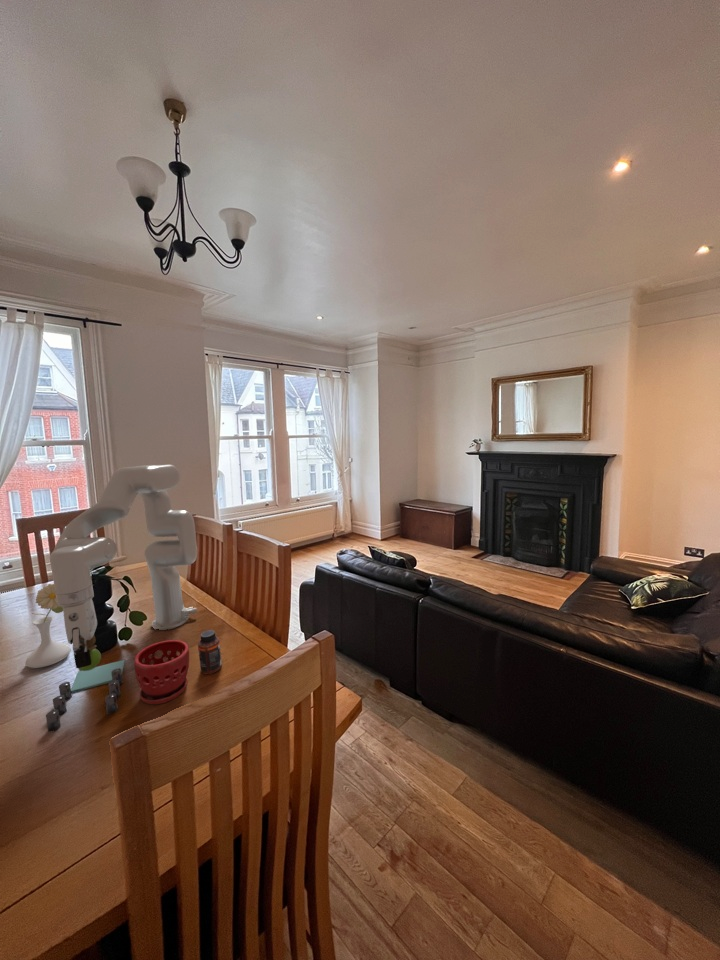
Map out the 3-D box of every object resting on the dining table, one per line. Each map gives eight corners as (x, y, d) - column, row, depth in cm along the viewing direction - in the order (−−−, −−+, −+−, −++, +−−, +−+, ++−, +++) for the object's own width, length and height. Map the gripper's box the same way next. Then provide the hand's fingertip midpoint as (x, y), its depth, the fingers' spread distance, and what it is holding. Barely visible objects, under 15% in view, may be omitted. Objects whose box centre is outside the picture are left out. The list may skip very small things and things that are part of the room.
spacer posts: (123, 680, 111) (121, 667, 111) (117, 712, 98) (115, 697, 98) (62, 697, 105) (60, 683, 104) (47, 733, 92) (44, 718, 92)
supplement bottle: (226, 664, 117) (223, 629, 115) (212, 676, 111) (209, 640, 110) (210, 661, 119) (206, 626, 117) (196, 673, 113) (192, 637, 111)
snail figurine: (82, 663, 104) (74, 622, 102) (106, 661, 104) (100, 620, 102) (68, 676, 99) (60, 633, 97) (94, 674, 99) (87, 631, 97)
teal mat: (124, 661, 120) (124, 659, 120) (120, 679, 112) (120, 677, 111) (78, 673, 115) (77, 671, 115) (70, 693, 106) (70, 691, 106)
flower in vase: (20, 676, 115) (7, 597, 112) (32, 657, 125) (19, 584, 122) (74, 662, 121) (62, 587, 118) (80, 645, 131) (70, 575, 128)
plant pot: (157, 716, 96) (151, 672, 95) (129, 698, 103) (123, 657, 102) (202, 685, 107) (198, 645, 106) (174, 671, 114) (170, 634, 113)
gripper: (86, 604, 92) (98, 673, 95) (98, 579, 107) (107, 639, 110) (47, 612, 89) (60, 683, 92) (65, 585, 104) (76, 647, 107)
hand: (86, 658), depth 101 cm, fingers closed on snail figurine, 5 cm apart
